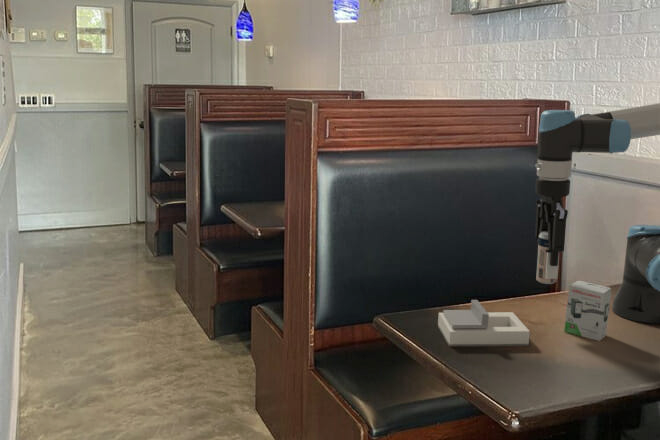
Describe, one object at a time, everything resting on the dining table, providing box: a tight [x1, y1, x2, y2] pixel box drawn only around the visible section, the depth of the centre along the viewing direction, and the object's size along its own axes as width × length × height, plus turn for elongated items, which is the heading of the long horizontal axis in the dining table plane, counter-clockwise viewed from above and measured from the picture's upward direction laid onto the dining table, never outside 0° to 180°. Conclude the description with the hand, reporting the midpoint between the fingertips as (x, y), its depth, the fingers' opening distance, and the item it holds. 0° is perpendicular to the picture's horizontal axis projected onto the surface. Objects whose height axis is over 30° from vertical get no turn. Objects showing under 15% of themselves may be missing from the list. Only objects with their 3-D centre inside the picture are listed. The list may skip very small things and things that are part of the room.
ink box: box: [563, 280, 613, 342], centre depth 161 cm, size 9×5×12 cm, turn 50°
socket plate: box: [437, 311, 531, 347], centre depth 160 cm, size 18×12×4 cm, turn 93°
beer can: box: [535, 231, 558, 285], centre depth 163 cm, size 5×5×12 cm
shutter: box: [442, 299, 489, 328], centre depth 158 cm, size 8×10×3 cm
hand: (546, 274), depth 164 cm, fingers closed on beer can, 5 cm apart
